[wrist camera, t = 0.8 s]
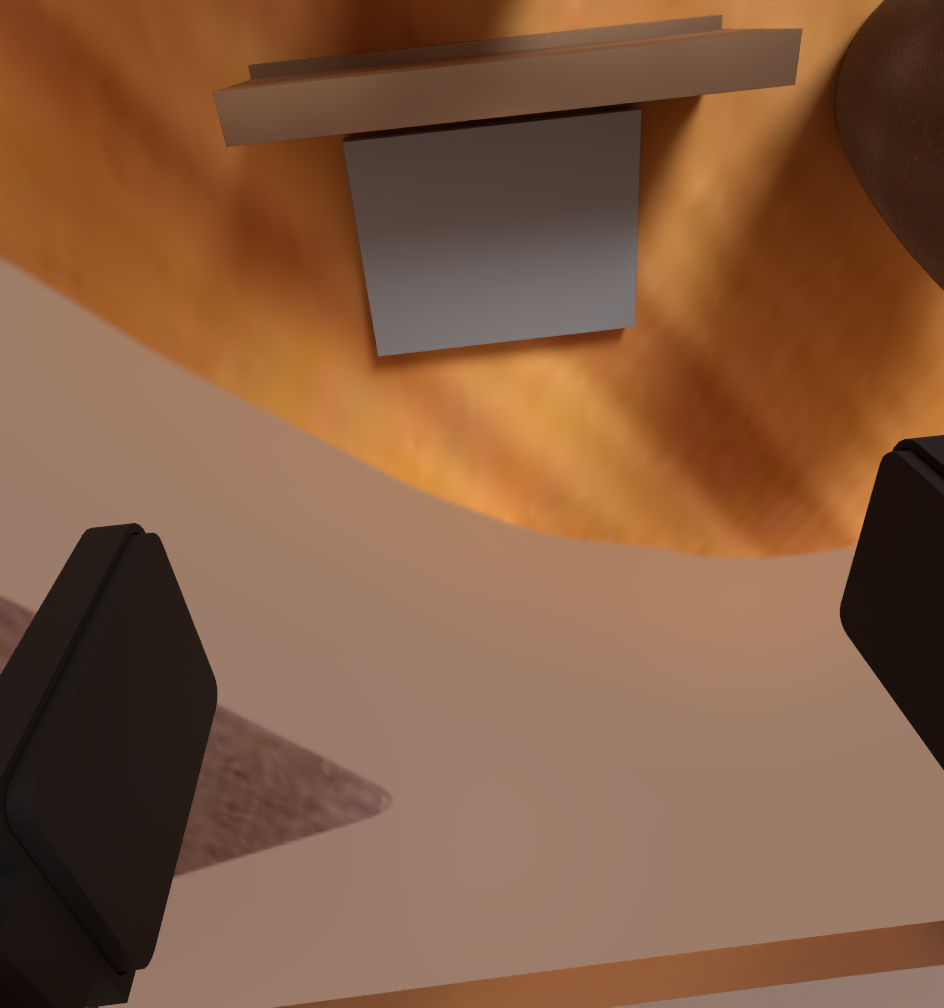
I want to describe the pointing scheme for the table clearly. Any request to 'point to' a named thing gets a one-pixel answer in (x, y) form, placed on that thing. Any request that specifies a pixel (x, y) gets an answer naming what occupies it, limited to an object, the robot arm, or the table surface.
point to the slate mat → (498, 229)
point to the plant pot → (899, 122)
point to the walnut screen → (503, 78)
